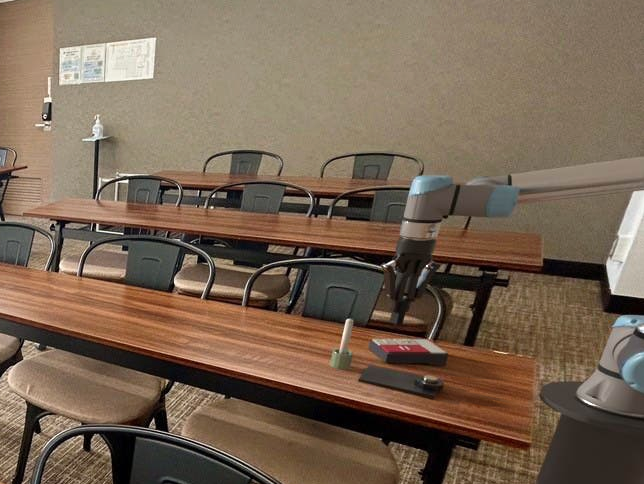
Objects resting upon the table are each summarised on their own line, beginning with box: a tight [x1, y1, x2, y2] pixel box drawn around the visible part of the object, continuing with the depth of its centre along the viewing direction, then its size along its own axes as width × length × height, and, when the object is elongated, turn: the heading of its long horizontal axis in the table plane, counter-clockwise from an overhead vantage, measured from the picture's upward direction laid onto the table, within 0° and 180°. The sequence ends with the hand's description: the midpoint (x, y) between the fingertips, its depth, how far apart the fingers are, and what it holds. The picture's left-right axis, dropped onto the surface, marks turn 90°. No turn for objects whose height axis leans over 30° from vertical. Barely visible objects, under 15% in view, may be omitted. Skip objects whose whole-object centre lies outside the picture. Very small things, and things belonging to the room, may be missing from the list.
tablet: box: [357, 364, 445, 400], centre depth 157 cm, size 17×12×2 cm
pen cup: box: [329, 348, 354, 371], centre depth 168 cm, size 5×5×5 cm
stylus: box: [339, 318, 355, 355], centre depth 166 cm, size 2×2×15 cm
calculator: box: [368, 338, 449, 366], centre depth 171 cm, size 11×4×15 cm
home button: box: [423, 374, 439, 384], centre depth 153 cm, size 3×3×1 cm
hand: (395, 323), depth 155 cm, fingers closed
